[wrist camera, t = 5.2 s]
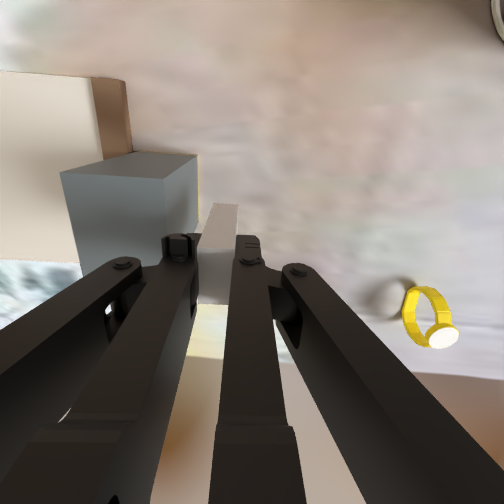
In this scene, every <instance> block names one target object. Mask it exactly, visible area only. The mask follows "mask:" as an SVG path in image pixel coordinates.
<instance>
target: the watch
mask: <svg viewBox="0 0 504 504" xmlns="http://www.w3.org/2000/svg"><path fill="white" fill-rule="evenodd" d="M421 292H423V293H424V294H425V295H426V297H427V298H428V299H429V300H430V302H431V305H432V307H433V310H434V312H435V322H436V324H435V325H433V326H432V327H430V328H429V329H428V330H427V332H426V334H425V337H424V336H423V335H422V334H421V332H420V330H419V327H418V325H417V323H416V318H415V312H414V311H415V307H416V304H417V301H418V298H419V294H420V293H421ZM401 313H402V319H403V323H404V326H405V329H406V331H407V333H408V334H409V336H410V337H411V339H412V340H413V341H414V342H415V343H416V344H418V345H420V346H423V347H433V348H436V349H442V348H446V347H449V346H450V345H452V344H453V343H454V342H456V340H457V339H458V336H459V332H458V330H457V329H456V328H455V327H454V326H453V325H452V320H451V313H450V309H449V307H448V305H447V303H446V300H445V299H444V297H443V296H442V295H441V294H440V293H439V292H438V291H437V290H436V289H434V288H431V287H427V286H423V287H413V288H411V289H409V290H407V294H406V298H405V301H404V305H403V309H402V310H401Z"/></svg>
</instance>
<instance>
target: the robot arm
mask: <svg viewBox="0 0 504 504" xmlns="http://www.w3.org/2000/svg"><path fill="white" fill-rule="evenodd" d="M237 220H238V205H237V204H218V203H214V204H213V207H212V209H211V212H210V215H209V217H208V220H207V222H206V225H205V228H204V230H203V233H202V234H200V233H187V234H184V233H174V234H168V235H166V236H163V237H162V238H161V244H162V256H163V257H162V259H161V261H160V262H159V264H158V265H153V266H145V267H142V266H141V261H140V260H139V259H138V258H135V257H128V256H124V257H123V256H122V257H118V258H115V259H112V260H110V261H108V262H106V263H105V264H103V265H101V266H100V267H98V268H97V269H95V270H94V271H92V272H90V273H89V274H87V275H86V276H84V277H83V278H81V279H80V280H78V281H76V282H75V283H73V284H72V285H70V286H69V287H67V288H65V289H64V290H62V291H61V292H59V293H58V294H56V295H54V296H53V297H51V298H50V299H48V300H47V301H45V302H43V303H42V304H40V305H39V306H37V307H36V308H34V309H33V310H31V311H29V312H28V313H26V314H25V315H23V316H22V317H20V318H18V319H17V320H15V321H14V322H12V323H11V324H9V325H7V326H6V327H4V328H3V329H1V330H0V504H150V497H151V492H152V488H153V483H154V479H155V476H156V472H157V468H158V464H159V459H160V456H161V451H162V448H163V444H164V440H165V435H166V432H167V428H168V424H169V419H170V416H171V412H172V407H173V404H174V399H175V395H176V392H177V388H178V384H179V380H180V375H181V372H182V367H183V363H184V359H185V356H186V352H187V348H188V344H189V340H190V336H191V332H192V328H193V324H194V320H195V316H196V312H197V297H198V304H219V305H229V306H228V317H227V328H226V339H225V350H224V360H223V371H222V382H221V393H220V404H219V416H218V423H217V425H216V431H215V440H214V450H213V460H212V470H211V480H210V481H211V482H210V491H209V502H208V504H307V503H306V497H305V490H304V484H303V478H302V471H301V466H300V459H299V453H298V447H297V442H296V437H295V432H294V430H293V427H292V426H288V423H287V419H286V412H285V404H284V397H283V390H282V383H281V376H280V368H279V361H278V354H277V347H276V340H275V333H274V325H273V319H275V320H276V326H277V328H278V330H279V332H280V334H281V336H282V338H283V340H284V342H285V344H286V346H287V348H288V350H289V352H290V354H291V356H292V358H293V360H294V362H295V364H296V366H297V368H298V370H299V371H300V373H301V375H302V377H303V379H304V381H305V383H306V385H307V387H308V389H309V391H310V393H311V395H312V397H313V399H314V401H315V403H316V405H317V407H318V409H319V411H320V413H321V415H322V417H323V419H324V421H325V423H326V425H327V427H328V429H329V431H330V433H331V435H332V437H333V439H334V441H335V442H336V444H337V446H338V448H339V450H340V452H341V454H342V456H343V458H344V460H345V462H346V464H347V466H348V468H349V470H350V472H351V474H352V476H353V478H354V480H355V482H356V484H357V486H358V488H359V490H360V492H361V494H362V496H363V497H364V500H365V502H366V504H504V471H503V469H502V468H501V467H500V466H499V465H498V464H497V463H496V462H495V461H494V460H493V459H492V458H491V457H490V456H489V455H488V454H487V453H486V451H485V450H484V449H483V448H482V447H481V446H480V445H479V444H478V443H477V442H476V441H475V440H474V439H473V438H472V437H471V436H470V434H469V433H468V432H467V431H466V430H465V429H464V428H463V427H462V426H461V425H460V424H459V423H458V422H457V421H456V420H455V419H454V417H453V416H452V415H451V414H450V413H449V412H448V411H447V410H446V409H445V408H444V407H443V406H442V405H441V404H440V403H439V402H438V400H436V398H435V397H434V396H433V395H432V394H431V393H430V392H429V391H428V390H427V389H426V388H425V387H424V386H423V385H422V384H421V382H419V380H418V379H417V378H416V377H415V376H414V375H413V374H412V373H411V372H410V371H409V370H408V369H407V368H406V367H405V366H404V364H403V363H402V362H401V361H400V360H399V359H398V358H397V357H396V356H395V355H394V354H393V353H392V352H391V351H390V350H389V349H388V348H387V346H386V345H385V344H384V343H383V342H382V341H381V340H380V339H379V338H378V337H377V336H376V335H375V334H374V333H373V332H372V331H371V329H370V328H369V327H368V326H367V325H366V324H365V323H364V322H363V321H362V320H361V319H360V318H359V317H358V316H357V315H356V314H355V313H354V311H353V310H352V309H351V308H350V307H349V306H348V305H347V304H346V303H345V302H344V301H343V300H342V299H341V298H340V297H339V296H338V295H337V293H336V292H335V291H334V290H333V289H332V288H331V287H330V286H329V285H328V284H327V283H326V282H325V281H324V280H323V279H322V278H321V276H320V275H319V274H318V273H317V272H316V271H315V270H314V269H312V268H311V267H309V266H307V265H305V264H302V263H291V264H287V265H285V266H284V267H283V268H282V271H277V270H273V269H271V268H268V267H267V266H265V261H264V260H263V258H262V256H261V249H260V241H259V239H258V238H257V237H256V236H254V235H237ZM109 304H110V305H111V310H112V311H111V312H110V313H109V314H107V315H106V313H105V310H106V308H107V307H108V305H109ZM70 408H71V409H70ZM69 409H70V411H69V412H68V414H67V415H66V417H65V418H64V419H63V420H62V421H60V422H59V420H60V419H61V418H62V417H63V416H64V415H65V414H66V412H67V411H68V410H69ZM58 422H59V423H58Z"/></svg>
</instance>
